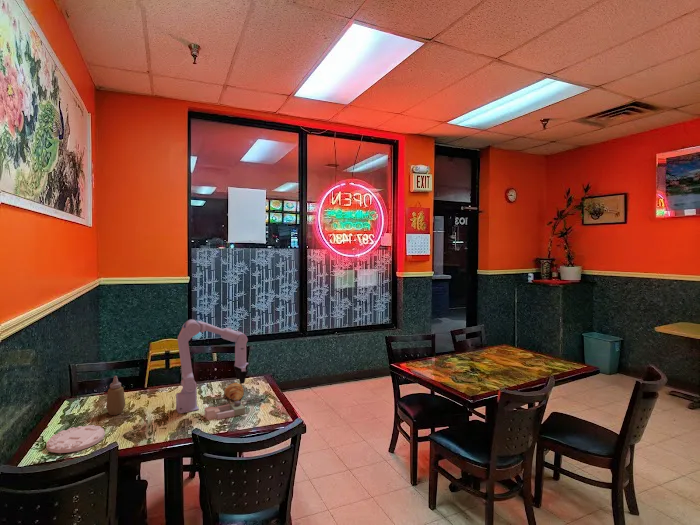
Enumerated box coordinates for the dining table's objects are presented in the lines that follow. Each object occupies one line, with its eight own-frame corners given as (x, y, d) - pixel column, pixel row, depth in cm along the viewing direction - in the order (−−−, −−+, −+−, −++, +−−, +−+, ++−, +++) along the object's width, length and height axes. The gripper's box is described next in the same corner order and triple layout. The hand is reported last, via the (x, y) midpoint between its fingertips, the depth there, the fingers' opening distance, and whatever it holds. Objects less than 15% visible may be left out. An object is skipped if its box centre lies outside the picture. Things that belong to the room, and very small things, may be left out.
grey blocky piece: (217, 419, 188) (217, 410, 188) (212, 412, 197) (212, 402, 197) (245, 413, 195) (245, 404, 195) (238, 406, 204) (238, 397, 203)
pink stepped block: (207, 420, 188) (207, 411, 188) (204, 416, 192) (204, 407, 192) (220, 417, 191) (220, 408, 191) (217, 413, 196) (217, 405, 195)
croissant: (242, 408, 210) (250, 394, 211) (225, 402, 206) (232, 387, 207) (236, 393, 229) (243, 381, 230) (220, 388, 225) (226, 374, 226)
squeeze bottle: (116, 417, 190) (116, 379, 189) (102, 415, 192) (101, 378, 191) (129, 410, 198) (128, 374, 197) (115, 408, 200) (114, 373, 199)
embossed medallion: (67, 459, 154) (67, 451, 154) (34, 449, 161) (34, 441, 161) (115, 436, 172) (115, 429, 172) (83, 427, 179) (83, 421, 179)
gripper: (251, 358, 207) (251, 384, 208) (245, 351, 220) (245, 376, 221) (237, 359, 204) (237, 386, 205) (232, 352, 217) (232, 377, 218)
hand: (240, 381), depth 213 cm, fingers open, 7 cm apart
